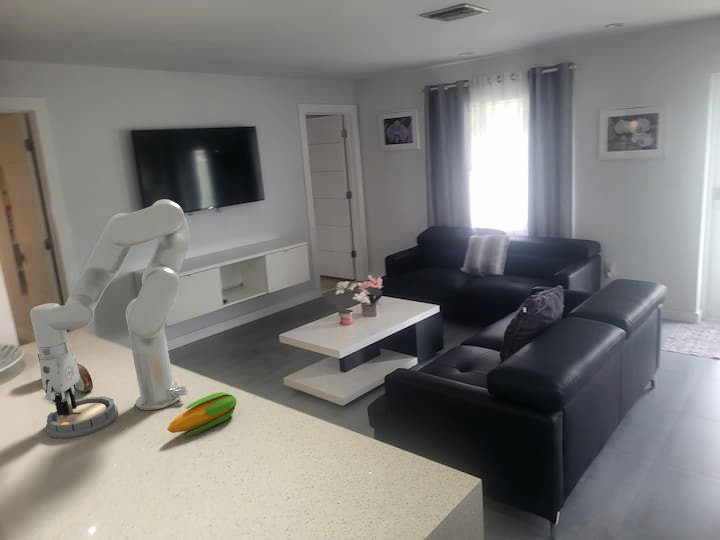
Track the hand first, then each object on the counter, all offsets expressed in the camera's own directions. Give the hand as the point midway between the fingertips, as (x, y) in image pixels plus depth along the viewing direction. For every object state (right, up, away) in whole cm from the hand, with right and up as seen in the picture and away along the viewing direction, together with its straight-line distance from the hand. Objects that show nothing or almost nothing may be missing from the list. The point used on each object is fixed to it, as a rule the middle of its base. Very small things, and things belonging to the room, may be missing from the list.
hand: (67, 411), depth 153 cm
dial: (+4, -2, 0) cm, 4 cm away
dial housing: (+4, -3, 0) cm, 5 cm away
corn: (+41, -2, -8) cm, 41 cm away
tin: (-9, +1, +24) cm, 25 cm away
